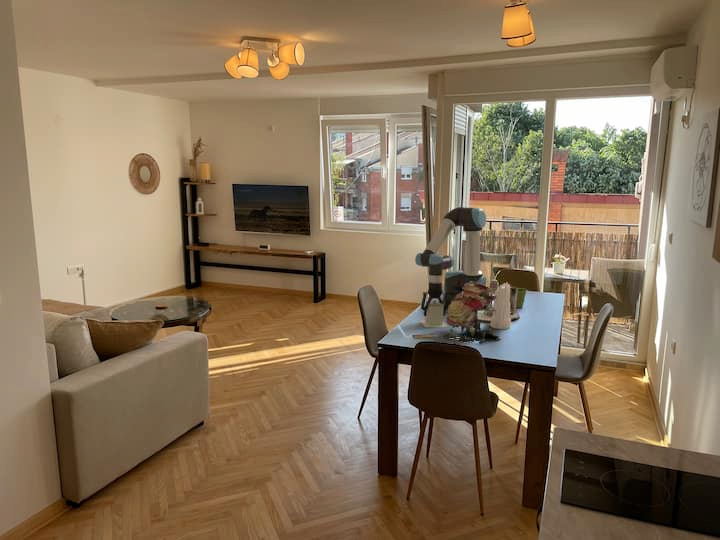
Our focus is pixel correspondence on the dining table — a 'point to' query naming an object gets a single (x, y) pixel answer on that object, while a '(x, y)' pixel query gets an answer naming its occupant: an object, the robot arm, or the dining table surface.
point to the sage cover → (435, 313)
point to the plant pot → (520, 297)
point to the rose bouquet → (469, 312)
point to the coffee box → (513, 298)
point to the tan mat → (423, 336)
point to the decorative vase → (501, 308)
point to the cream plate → (433, 326)
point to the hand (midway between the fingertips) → (433, 321)
